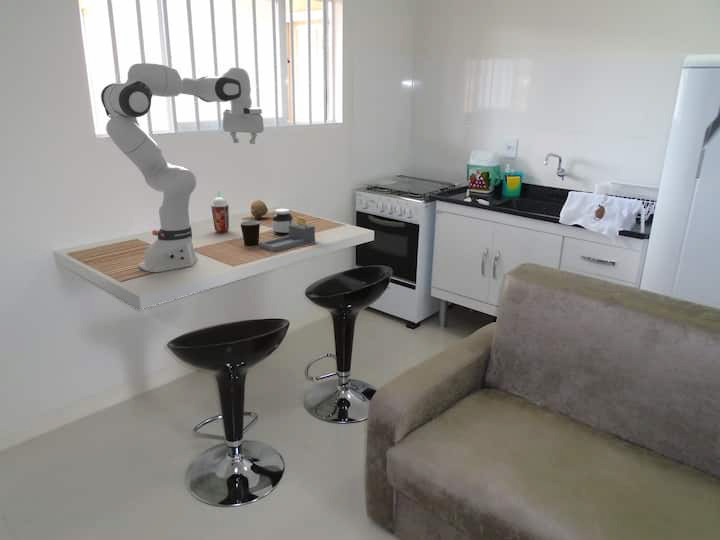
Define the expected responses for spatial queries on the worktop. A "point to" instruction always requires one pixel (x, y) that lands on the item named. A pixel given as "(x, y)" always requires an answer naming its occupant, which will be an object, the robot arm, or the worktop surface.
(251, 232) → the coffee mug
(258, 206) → the natural sponge
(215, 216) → the smoothie
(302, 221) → the ticket
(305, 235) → the dispenser
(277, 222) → the spread jar
